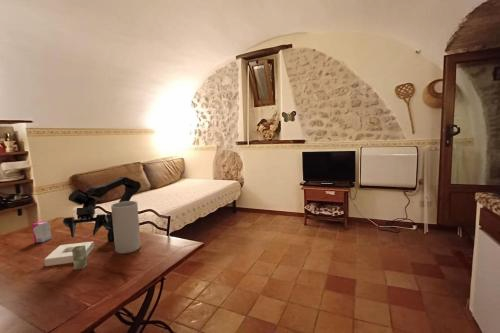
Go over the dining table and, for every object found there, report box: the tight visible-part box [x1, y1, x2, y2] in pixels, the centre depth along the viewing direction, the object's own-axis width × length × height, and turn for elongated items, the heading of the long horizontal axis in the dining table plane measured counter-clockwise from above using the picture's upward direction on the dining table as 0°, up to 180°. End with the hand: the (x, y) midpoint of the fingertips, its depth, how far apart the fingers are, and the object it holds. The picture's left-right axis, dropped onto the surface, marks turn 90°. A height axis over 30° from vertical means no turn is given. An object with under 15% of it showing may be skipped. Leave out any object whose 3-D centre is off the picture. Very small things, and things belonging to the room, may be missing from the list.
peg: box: [72, 245, 88, 270], centre depth 118 cm, size 4×4×10 cm
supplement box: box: [32, 220, 52, 244], centre depth 150 cm, size 6×6×12 cm
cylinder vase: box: [110, 200, 142, 255], centre depth 135 cm, size 12×12×25 cm
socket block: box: [44, 241, 95, 267], centre depth 130 cm, size 16×16×4 cm
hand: (83, 236), depth 124 cm, fingers open, 9 cm apart
